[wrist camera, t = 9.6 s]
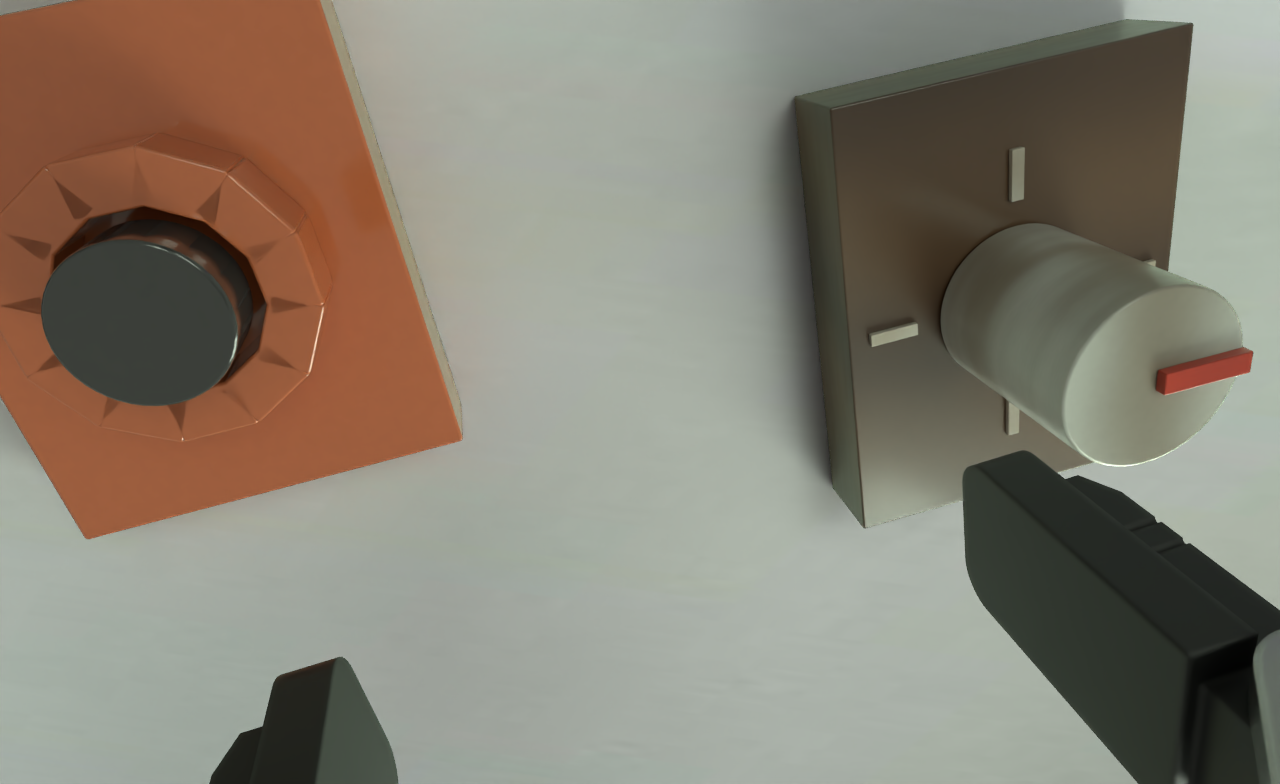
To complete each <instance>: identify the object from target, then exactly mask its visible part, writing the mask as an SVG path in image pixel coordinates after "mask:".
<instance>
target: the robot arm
mask: <svg viewBox="0 0 1280 784" xmlns="http://www.w3.org/2000/svg"><path fill="white" fill-rule="evenodd" d="M962 489H963V512H964V536H965V558H966V566H967V570H968V574H969V577H970V580H971V583H972V585H973V588H974V590H975V592H976V594H977V596H978V597H979V599H980V601H981V602H982V604H983V605H984V606H985V608H986V609H987V610H988V611H989V612H990V614H991V615H992V616H993V617H994V618H995V619H996V621H997V622H998V623H999V624H1000V625H1001V626H1002V627H1003V629H1004V630H1005V631H1006V632H1007V633H1008V634H1009V635H1010V637H1011V638H1012V639H1013V640H1014V641H1015V642H1016V644H1017V645H1018V646H1019V647H1020V648H1021V649H1022V650H1023V652H1024V653H1025V654H1026V655H1027V656H1028V657H1029V658H1030V660H1031V661H1032V662H1033V663H1034V664H1035V665H1036V666H1037V668H1038V669H1039V670H1040V671H1041V672H1042V673H1043V675H1044V676H1045V677H1046V678H1047V679H1048V680H1049V681H1050V683H1051V684H1052V685H1053V686H1054V687H1055V688H1056V689H1057V691H1058V692H1059V693H1060V694H1061V695H1062V696H1063V698H1064V699H1065V700H1066V701H1067V702H1068V703H1069V704H1070V706H1071V707H1072V708H1073V709H1074V710H1075V711H1076V712H1077V714H1078V715H1079V716H1080V717H1081V718H1082V719H1083V721H1084V722H1085V723H1086V724H1087V725H1088V726H1089V727H1090V729H1091V730H1092V731H1093V732H1094V733H1095V734H1096V735H1097V737H1098V738H1099V739H1100V740H1101V741H1102V742H1103V743H1104V745H1105V746H1106V747H1107V748H1108V749H1109V750H1110V752H1111V753H1112V754H1113V755H1114V756H1115V757H1116V758H1117V760H1118V761H1119V762H1120V763H1121V764H1122V765H1123V766H1124V768H1125V769H1126V770H1127V771H1128V772H1129V773H1130V775H1131V776H1132V777H1133V778H1134V779H1135V780H1136V781H1137V783H1138V784H1280V610H1278V609H1277V608H1276V607H1274V606H1273V605H1272V604H1270V603H1269V602H1268V601H1266V600H1265V599H1264V598H1262V597H1261V596H1260V595H1258V594H1257V593H1256V592H1254V591H1253V590H1252V589H1250V588H1249V587H1248V586H1246V585H1245V584H1244V583H1242V582H1241V581H1240V580H1238V579H1237V578H1236V577H1234V576H1233V575H1232V574H1230V573H1229V572H1228V571H1226V570H1225V569H1224V568H1222V567H1221V566H1220V565H1218V564H1217V563H1216V562H1214V561H1213V560H1212V559H1210V558H1209V557H1208V556H1206V555H1205V554H1204V553H1202V552H1201V551H1200V550H1198V549H1197V548H1196V547H1194V546H1193V545H1192V544H1190V543H1189V544H1185V543H1184V541H1183V538H1182V537H1181V536H1180V535H1178V534H1177V533H1176V532H1174V531H1173V530H1172V529H1170V528H1169V527H1168V526H1166V525H1165V524H1164V523H1162V522H1160V523H1157V522H1156V520H1155V517H1154V516H1153V515H1152V514H1150V513H1149V512H1148V511H1146V510H1145V509H1144V508H1142V507H1141V506H1140V505H1138V504H1137V503H1135V502H1134V501H1133V500H1131V499H1130V498H1129V497H1127V496H1126V495H1125V494H1123V493H1122V492H1120V491H1118V490H1115V489H1112V488H1110V487H1107V486H1105V485H1102V484H1099V483H1097V482H1094V481H1092V480H1089V479H1086V478H1084V477H1081V476H1079V475H1077V476H1074V477H1071V478H1068V479H1064V478H1063V477H1062V476H1061V475H1059V474H1058V473H1057V472H1055V471H1054V470H1053V469H1052V468H1050V467H1049V466H1048V465H1047V464H1045V463H1044V462H1043V461H1042V460H1040V459H1039V458H1038V457H1037V456H1035V455H1034V454H1032V453H1031V452H1029V451H1025V450H1021V451H1017V452H1014V453H1011V454H1008V455H1004V456H1001V457H998V458H994V459H991V460H988V461H985V462H981V463H978V464H975V465H972V466H969V467H967V468H966V469H965V471H964V473H963V478H962ZM209 784H398V776H397V769H396V764H395V760H394V756H393V752H392V749H391V746H390V744H389V741H388V739H387V737H386V735H385V733H384V731H383V729H382V727H381V725H380V723H379V721H378V719H377V717H376V715H375V713H374V711H373V709H372V707H371V705H370V703H369V701H368V699H367V697H366V695H365V693H364V691H363V689H362V687H361V685H360V683H359V681H358V679H357V677H356V675H355V673H354V671H353V669H352V667H351V665H350V664H349V663H348V661H347V660H346V659H345V658H343V657H338V658H334V659H331V660H328V661H325V662H321V663H318V664H315V665H311V666H308V667H305V668H302V669H298V670H295V671H292V672H289V673H285V674H282V675H280V676H278V677H277V678H276V679H275V681H274V683H273V687H272V690H271V695H270V699H269V703H268V707H267V711H266V715H265V719H264V724H263V727H259V728H256V729H253V730H250V731H247V732H243V733H240V735H239V736H238V738H237V739H236V740H235V742H234V743H233V745H232V746H231V748H230V749H229V751H228V752H227V754H226V755H225V757H224V758H223V760H222V761H221V763H220V764H219V766H218V767H217V768H216V770H215V771H214V773H213V774H212V776H211V780H210V783H209Z"/></svg>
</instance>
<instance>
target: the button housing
mask: <svg viewBox="0 0 1280 784" xmlns="http://www.w3.org/2000/svg"><path fill="white" fill-rule="evenodd" d="M143 219H155V220H165V221H170V222H175V223H179V224H182V225H185V226H188V227H190V228H193V229H195V230H197V231H200V232H201V233H203V234H205V235H206V236H208V237H210V238H211V239H213V240H214V241H215V242H217V243H218V244H220V245H221V246H222V247H223V248H224V249H225V250H226V251H227V252H228V253H229V254H230V255H231V256H232V257H233V258H234V260H235V261H236V262H237V264H238V265H239V266H240V268H241V269H242V271H243V273H244V275H245V277H246V279H247V281H248V284H249V287H250V290H251V294H252V299H253V319H252V324H251V327H250V331H249V333H248V335H247V338H246V340H245V341H244V343H243V345H242V347H241V349H240V351H239V352H238V354H237V356H236V358H235V360H234V361H233V363H232V365H231V367H230V368H229V370H228V371H227V373H226V374H225V376H224V377H223V378H222V379H221V380H220V381H219V382H218V383H217V384H216V385H215V386H214V387H212V388H211V389H210V390H208V391H207V392H205V393H203V394H202V395H200V396H198V397H195V398H193V399H191V400H188V401H185V402H181V403H177V404H172V405H164V406H142V405H135V404H129V403H125V402H121V401H117V400H114V399H112V398H109V397H106V396H104V395H102V394H100V393H98V392H96V391H94V390H92V389H91V388H89V387H87V386H86V385H84V384H83V383H82V382H80V381H79V380H78V379H76V378H75V377H74V376H73V375H72V374H71V373H70V372H69V371H68V370H66V369H65V367H64V366H63V365H62V364H61V363H60V361H59V360H58V359H57V357H56V356H55V354H54V353H53V351H52V350H51V348H50V345H49V343H48V341H47V339H46V336H45V333H44V330H43V325H42V319H41V301H42V295H43V291H44V289H45V286H46V283H47V281H48V279H49V278H50V276H51V274H52V272H53V271H54V270H55V269H56V268H57V266H58V265H59V264H60V263H61V262H62V261H63V260H64V259H66V258H67V257H68V256H69V255H71V254H72V253H73V252H75V251H76V250H77V249H79V248H80V247H81V246H83V245H84V244H86V243H87V242H88V241H90V240H91V239H92V238H94V237H95V236H96V235H98V234H100V233H101V232H103V231H104V230H106V229H108V228H110V227H112V226H115V225H117V224H121V223H124V222H127V221H134V220H143ZM0 397H1V399H2V400H3V402H4V404H5V405H6V407H7V409H8V410H9V412H10V414H11V415H12V417H13V419H14V420H15V422H16V424H17V425H18V427H19V429H20V430H21V432H22V434H23V435H24V437H25V439H26V440H27V442H28V444H29V445H30V447H31V449H32V450H33V452H34V454H35V455H36V457H37V459H38V460H39V462H40V464H41V465H42V467H43V469H44V470H45V472H46V474H47V475H48V477H49V479H50V480H51V482H52V484H53V485H54V487H55V489H56V490H57V492H58V494H59V495H60V497H61V499H62V500H63V502H64V504H65V505H66V507H67V509H68V510H69V512H70V514H71V515H72V517H73V519H74V520H75V522H76V524H77V526H78V527H79V529H80V531H81V532H82V534H83V536H84V537H85V538H86V539H91V538H95V537H99V536H103V535H106V534H110V533H114V532H118V531H121V530H125V529H129V528H133V527H137V526H140V525H144V524H148V523H152V522H156V521H159V520H163V519H167V518H171V517H175V516H178V515H182V514H186V513H190V512H193V511H197V510H201V509H205V508H209V507H212V506H216V505H220V504H224V503H228V502H231V501H235V500H239V499H243V498H246V497H250V496H254V495H258V494H262V493H265V492H269V491H273V490H277V489H281V488H284V487H288V486H292V485H296V484H299V483H303V482H307V481H311V480H315V479H318V478H322V477H326V476H330V475H334V474H337V473H341V472H345V471H349V470H353V469H356V468H360V467H364V466H368V465H371V464H375V463H379V462H383V461H387V460H390V459H394V458H398V457H402V456H406V455H409V454H413V453H417V452H421V451H424V450H428V449H432V448H436V447H440V446H443V445H447V444H451V443H455V442H459V441H461V440H462V439H463V431H462V409H461V402H460V399H459V396H458V393H457V390H456V387H455V384H454V380H453V377H452V374H451V371H450V368H449V365H448V362H447V359H446V355H445V352H444V349H443V346H442V343H441V340H440V337H439V334H438V331H437V327H436V324H435V321H434V318H433V315H432V312H431V309H430V306H429V302H428V299H427V296H426V293H425V290H424V287H423V284H422V281H421V278H420V274H419V271H418V268H417V265H416V262H415V259H414V256H413V253H412V249H411V246H410V243H409V240H408V237H407V234H406V231H405V228H404V225H403V221H402V218H401V215H400V212H399V209H398V206H397V203H396V200H395V196H394V193H393V190H392V187H391V184H390V181H389V178H388V175H387V172H386V168H385V165H384V162H383V159H382V156H381V153H380V150H379V147H378V143H377V140H376V137H375V134H374V131H373V128H372V125H371V122H370V119H369V115H368V112H367V109H366V106H365V103H364V100H363V97H362V94H361V90H360V87H359V84H358V81H357V78H356V75H355V72H354V69H353V66H352V62H351V59H350V56H349V53H348V50H347V47H346V44H345V41H344V37H343V34H342V31H341V28H340V25H339V22H338V19H337V16H336V13H335V9H334V6H333V3H332V0H72V1H67V2H63V3H58V4H53V5H48V6H43V7H38V8H33V9H28V10H23V11H18V12H13V13H8V14H4V15H0Z"/></svg>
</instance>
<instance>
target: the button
mask: <svg viewBox="0 0 1280 784" xmlns="http://www.w3.org/2000/svg"><path fill="white" fill-rule="evenodd" d="M41 319H42V325H43V330H44V333H45V336H46V339H47V341H48V343H49V345H50V348H51V350H52V351H53V353H54V354H55V356H56V357H57V359H58V360H59V361H60V363H61V364H62V365H63V366H64V367H65V369H66V370H68V371H69V372H70V373H71V374H72V375H73V376H74V377H75V378H76V379H78V380H79V381H80V382H82V383H83V384H84V385H86V386H87V387H89V388H91V389H92V390H94V391H96V392H98V393H100V394H102V395H104V396H106V397H109V398H112V399H114V400H117V401H121V402H125V403H129V404H135V405H142V406H164V405H172V404H177V403H181V402H185V401H188V400H191V399H193V398H195V397H198V396H200V395H202V394H203V393H205V392H207V391H208V390H210V389H211V388H212V387H214V386H215V385H216V384H217V383H218V382H219V381H220V380H221V379H222V378H223V377H224V376H225V374H226V373H227V371H228V370H229V368H230V367H231V365H232V363H233V361H234V360H235V358H236V356H237V354H238V352H239V351H240V349H241V347H242V345H243V343H244V341H245V340H246V338H247V335H248V333H249V331H250V327H251V324H252V319H253V299H252V294H251V290H250V287H249V284H248V281H247V279H246V277H245V275H244V273H243V271H242V269H241V268H240V266H239V265H238V264H237V262H236V261H235V260H234V258H233V257H232V256H231V255H230V254H229V253H228V252H227V251H226V250H225V249H224V248H223V247H222V246H221V245H220V244H218V243H217V242H215V241H214V240H213V239H211V238H210V237H208V236H206V235H205V234H203V233H201V232H200V231H197V230H195V229H193V228H190V227H188V226H185V225H182V224H179V223H175V222H170V221H165V220H155V219H143V220H134V221H127V222H124V223H121V224H117V225H115V226H112V227H110V228H108V229H106V230H104V231H103V232H101V233H100V234H98V235H96V236H95V237H94V238H92V239H91V240H90V241H88V242H87V243H86V244H84V245H83V246H81V247H80V248H79V249H77V250H76V251H75V252H73V253H72V254H71V255H69V256H68V257H67V258H66V259H64V260H63V261H62V262H61V263H60V264H59V265H58V266H57V268H56V269H55V270H54V271H53V272H52V274H51V276H50V278H49V279H48V281H47V283H46V286H45V289H44V291H43V295H42V301H41Z"/></svg>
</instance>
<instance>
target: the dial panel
mask: <svg viewBox="0 0 1280 784" xmlns="http://www.w3.org/2000/svg"><path fill="white" fill-rule="evenodd" d="M1192 33H1193V23H1184V22H1166V21H1148V20H1130V19H1126V20H1121V21H1117V22H1113V23H1108V24H1104V25H1100V26H1095V27H1091V28H1087V29H1083V30H1078V31H1074V32H1070V33H1065V34H1061V35H1057V36H1052V37H1048V38H1044V39H1040V40H1035V41H1031V42H1027V43H1022V44H1018V45H1014V46H1010V47H1005V48H1001V49H997V50H992V51H988V52H984V53H979V54H975V55H971V56H967V57H962V58H958V59H954V60H949V61H945V62H941V63H937V64H932V65H928V66H924V67H919V68H915V69H911V70H906V71H902V72H898V73H894V74H889V75H885V76H881V77H876V78H872V79H868V80H863V81H859V82H855V83H851V84H846V85H842V86H838V87H833V88H829V89H825V90H821V91H816V92H812V93H808V94H803V95H799V96H796V97H795V109H796V119H797V129H798V139H799V149H800V159H801V170H802V180H803V190H804V200H805V210H806V220H807V231H808V241H809V251H810V261H811V271H812V281H813V291H814V302H815V312H816V322H817V332H818V342H819V352H820V363H821V373H822V383H823V393H824V403H825V413H826V424H827V434H828V444H829V454H830V464H831V474H832V484H833V489H834V490H835V491H836V493H837V494H838V495H839V497H840V498H841V499H842V501H843V502H844V503H845V504H846V506H847V507H848V508H849V510H850V511H851V512H852V514H853V515H854V516H855V517H856V519H857V520H858V521H859V523H860V524H861V525H862V526H863V528H868V527H872V526H875V525H879V524H882V523H886V522H889V521H893V520H896V519H900V518H903V517H907V516H910V515H914V514H917V513H920V512H924V511H927V510H931V509H934V508H938V507H941V506H945V505H948V504H952V503H955V502H959V501H962V500H963V489H962V478H963V473H964V471H965V469H966V468H967V467H969V466H972V465H975V464H978V463H981V462H985V461H988V460H991V459H994V458H998V457H1001V456H1004V455H1008V454H1011V453H1014V452H1017V451H1021V450H1025V451H1029V452H1031V453H1032V454H1034V455H1035V456H1037V457H1038V458H1039V459H1040V460H1042V461H1043V462H1044V463H1045V464H1047V465H1048V466H1049V467H1050V468H1052V469H1053V470H1054V471H1055V472H1057V473H1059V472H1063V471H1066V470H1070V469H1073V468H1077V467H1080V466H1084V465H1087V464H1091V463H1094V462H1093V461H1090V460H1089V459H1087V458H1085V457H1083V456H1082V455H1080V454H1079V453H1078V452H1076V451H1075V450H1074V449H1072V448H1071V447H1070V446H1068V445H1067V444H1066V443H1064V442H1063V441H1062V440H1060V439H1059V438H1058V437H1056V436H1055V435H1054V434H1052V433H1051V432H1049V431H1048V430H1047V429H1045V428H1044V427H1043V426H1041V425H1040V424H1039V423H1037V422H1036V421H1035V420H1033V419H1032V418H1031V417H1029V416H1028V415H1027V414H1025V413H1024V412H1023V411H1021V410H1020V409H1018V408H1017V407H1016V406H1014V405H1013V404H1012V403H1010V402H1009V401H1008V400H1006V399H1005V398H1004V397H1002V396H1001V395H1000V394H998V393H997V392H996V391H994V390H993V389H991V388H990V387H989V386H987V385H986V384H985V383H983V382H982V381H981V380H979V379H978V378H977V377H975V376H974V375H973V374H971V373H970V372H969V371H967V370H966V369H965V368H963V367H962V366H961V365H960V364H958V363H957V362H956V361H955V360H954V358H953V357H952V356H951V355H950V353H949V351H948V350H947V348H946V345H945V343H944V340H943V336H942V331H941V308H942V303H943V299H944V295H945V292H946V289H947V287H948V285H949V282H950V280H951V279H952V277H953V275H954V273H955V271H956V270H957V269H958V267H959V266H960V264H961V263H962V262H963V261H964V259H965V258H966V257H967V256H968V255H969V254H970V253H971V252H972V251H973V250H974V249H975V248H976V247H977V246H978V245H980V244H981V243H982V242H984V241H985V240H986V239H988V238H989V237H991V236H993V235H994V234H996V233H998V232H1000V231H1003V230H1005V229H1007V228H1011V227H1014V226H1017V225H1023V224H1030V223H1040V224H1048V225H1051V226H1055V227H1058V228H1060V229H1063V230H1065V231H1068V232H1070V233H1073V234H1075V235H1078V236H1080V237H1083V238H1085V239H1088V240H1090V241H1093V242H1095V243H1098V244H1100V245H1103V246H1105V247H1108V248H1110V249H1113V250H1115V251H1118V252H1120V253H1123V254H1125V255H1128V256H1130V257H1133V258H1135V259H1138V260H1140V261H1143V262H1145V263H1148V264H1150V265H1153V266H1155V267H1158V268H1160V269H1163V270H1165V271H1168V266H1169V256H1170V247H1171V237H1172V227H1173V218H1174V208H1175V198H1176V188H1177V179H1178V169H1179V159H1180V150H1181V140H1182V130H1183V121H1184V111H1185V101H1186V92H1187V82H1188V72H1189V62H1190V53H1191V43H1192Z"/></svg>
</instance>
